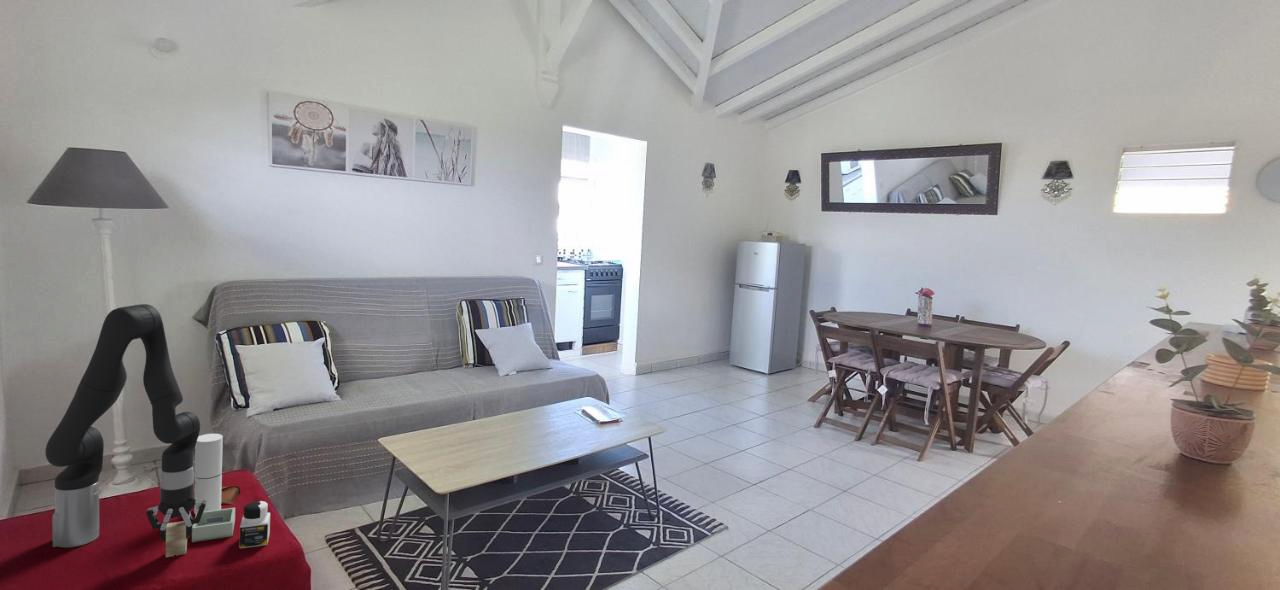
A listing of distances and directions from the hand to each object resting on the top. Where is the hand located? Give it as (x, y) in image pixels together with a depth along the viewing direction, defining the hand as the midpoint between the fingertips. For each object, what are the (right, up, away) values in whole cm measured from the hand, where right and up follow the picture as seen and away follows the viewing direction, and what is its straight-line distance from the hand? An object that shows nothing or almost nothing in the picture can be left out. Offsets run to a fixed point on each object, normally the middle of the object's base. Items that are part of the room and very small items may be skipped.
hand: (176, 538), depth 169 cm
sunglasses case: (-14, 0, +30) cm, 33 cm away
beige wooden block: (-1, -5, +1) cm, 4 cm away
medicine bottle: (+16, -5, +10) cm, 20 cm away
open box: (+1, -3, +13) cm, 14 cm away
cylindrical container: (-9, -1, +24) cm, 26 cm away
